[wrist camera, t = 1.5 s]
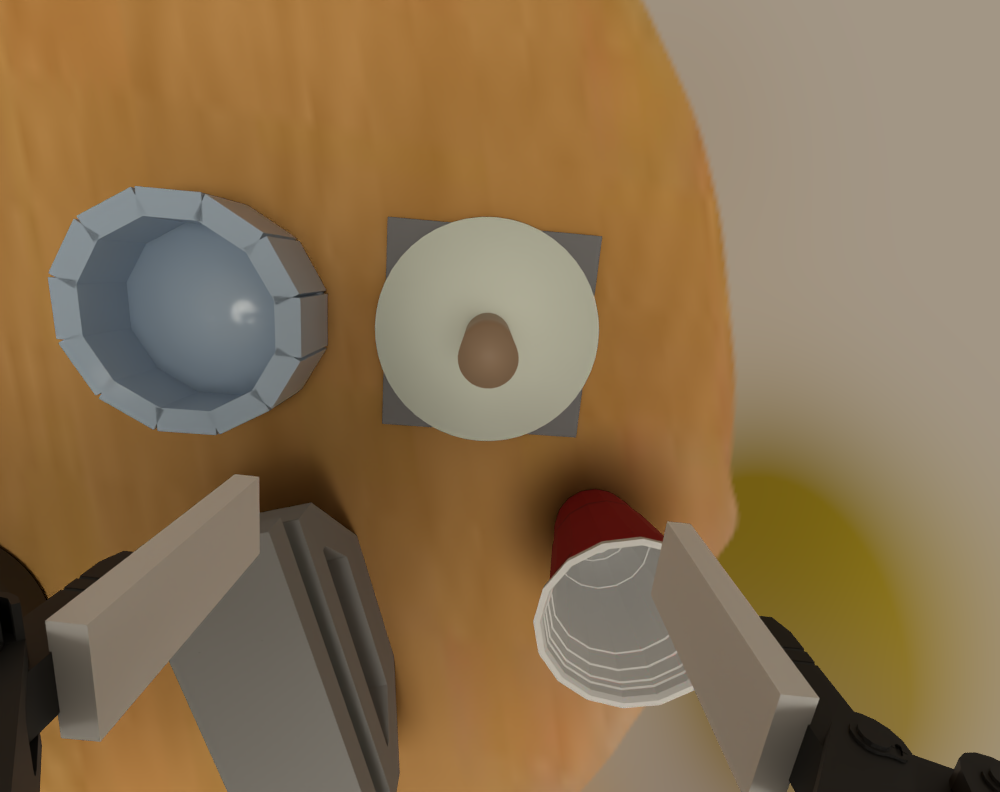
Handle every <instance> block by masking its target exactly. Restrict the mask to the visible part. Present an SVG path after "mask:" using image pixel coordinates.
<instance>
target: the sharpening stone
mask: <svg viewBox="0 0 1000 792" xmlns="http://www.w3.org/2000/svg"><path fill="white" fill-rule="evenodd" d="M259 517H260V554H259V555H258V556H257V557H256V558H255V560H254V561H253V562H252V563H251V564H250V566H249V567H248V568H247V569H246V570H245V571H244V573H243V574H242V575H241V576H240V577H239V579H238V580H237V581H236V582H235V583H234V584H233V586H232V587H231V588H230V589H229V590H228V592H227V593H226V594H225V595H224V596H223V597H222V599H221V600H220V601H219V602H218V603H217V605H216V606H215V607H214V608H213V609H212V610H211V612H210V613H209V614H208V615H207V616H206V618H205V619H204V620H203V621H202V622H201V623H200V625H199V626H198V627H197V628H196V629H195V631H194V632H193V633H192V634H191V635H190V636H189V638H188V639H187V640H186V641H185V642H184V643H183V645H182V646H181V647H180V648H179V649H178V651H177V652H176V653H175V654H174V655H173V656H172V658H171V659H170V660H169V662H170V664H171V667H172V669H173V671H174V673H175V676H176V678H177V680H178V682H179V685H180V687H181V689H182V691H183V693H184V696H185V698H186V700H187V702H188V705H189V707H190V709H191V711H192V714H193V716H194V718H195V720H196V722H197V725H198V727H199V729H200V731H201V734H202V736H203V738H204V740H205V743H206V745H207V747H208V749H209V751H210V754H211V756H212V758H213V760H214V763H215V765H216V767H217V769H218V772H219V774H220V776H221V778H222V780H223V783H224V785H225V787H226V789H227V792H396V791H397V785H398V779H399V774H400V772H399V751H398V731H397V710H396V689H395V669H394V655H393V652H392V649H391V646H390V642H389V639H388V636H387V633H386V629H385V626H384V623H383V619H382V616H381V613H380V610H379V606H378V603H377V600H376V597H375V593H374V590H373V587H372V584H371V580H370V577H369V574H368V570H367V567H366V564H365V561H364V557H363V554H362V551H361V548H360V544H359V541H358V538H357V536H356V535H355V534H354V533H352V532H351V531H350V530H348V529H347V528H345V527H344V526H343V525H341V524H340V523H339V522H337V521H336V520H334V519H333V518H332V517H330V516H329V515H328V514H326V513H325V512H324V511H322V510H321V509H319V508H318V507H317V506H315V505H314V504H313V503H307V504H302V505H297V506H291V507H286V508H281V509H276V510H271V511H266V512H261V513H259ZM143 545H144V544H143ZM139 548H140V547H139ZM139 548H138V549H139ZM134 552H135V551H134Z"/></svg>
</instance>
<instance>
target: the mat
mask: <svg viewBox="0 0 1000 792" xmlns="http://www.w3.org/2000/svg"><path fill="white" fill-rule="evenodd" d="M449 223H451V222H440V221H429V220H418V219H407V218H396V217H388V227H387V265H386V279H387V278H388V276H389V274H390V272H391V270H392V269H393V267H394V266H395V264H396V263H397V262H398V260H399V259H400V257H401V256H402V255H403V254H404V253H405V252H406V251H407V250H408V249H409V248H410V247H411V246H412V245H413V244H414V243H416V242H417V241H418V240H420V239H421V238H422V237H423V236H425V235H427V234H428V233H430V232H432V231H433V230H435V229H437V228H439V227H442V226H444V225H447V224H449ZM542 232H543V233H545V234H547V235H548V236H550V237H551V238H553V239H554V240H555V241H557V242H558V243H559V244H560V245H561V246H562V247H564V248H565V249H566V250H567V251H568V253H569V254H570V255H571V256H572V257H573V258H574V259H575V261H576V262H577V263H578V265H579V266H580V268H581V269H582V271H583V272H584V274H585V276H586V278H587V280H588V282H589V284H590V286H591V289H592V292H593V295H595V287H596V280H597V272H598V264H599V257H600V249H601V241H602V236H592V235H581V234H570V233H559V232H548V231H542ZM581 395H582V389H581V391H580V392H579V394H578V395H577V397H576V398H575V399H574V400H573V401H572V403H571V404H570V405H569V406H568V407H567V408H566V409H565V410H564V411H563V412H562V413H561V414H559V415H558V416H557V417H556V418H554V419H553V420H552V421H550V422H549V423H547V424H546V425H544V426H542V427H540V428H538V429H537V430H535V431H533V432H530V433H527V434H535V435H549V436H563V437H576V433H577V426H578V418H579V410H580V403H581ZM382 424H395V425H409V426H423V427H432V426H431V425H429V424H427V423H426V422H424V421H423V420H422V419H420V418H419V417H417V416H416V415H415V414H414V413H413V412H412V411H411V410H410V409H409V408H407V407H406V406H405V405H404V403H403V402H402V401H401V400H400V398H399V397H398V396H397V395H396V393H395V392H394V390H393V389H392V387H391V385H390V384H389V382H388V380H387V378H386V376H385V373H384V378H383V416H382Z"/></svg>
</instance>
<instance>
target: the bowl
mask: <svg viewBox="0 0 1000 792" xmlns="http://www.w3.org/2000/svg"><path fill="white" fill-rule="evenodd" d="M77 217H78V219H79V220H78V219H73V221H72V224H71V226H70V228H69V230H68V232H67V234H66V236H65V239H64V241H63V243H62V245H61V247H60V249H59V251H58V254H57V256H56V258H55V260H54V262H53V264H52V266H51V268H50V271H49V274H51V275H53V276H54V277H48V282H49V289H50V296H51V303H52V310H53V317H54V325H55V332H56V339H65V340H63V341H61V342H59V345H60V346H61V348H62V349H63V350H64V352H65V353H66V355H67V356H68V357H69V359H70V360H71V362H72V363H73V365H74V366H75V367H76V369H77V370H78V372H79V373H80V374H81V376H82V377H83V379H84V380H85V381H86V383H87V384H88V386H89V387H90V388H91V390H92V391H93V393H94V394H95V395H99V394H101V395H100V397H99V399H101V400H102V401H104V402H106V403H108V404H109V405H111V406H113V407H115V408H116V409H118V410H120V411H122V412H123V413H125V414H127V415H129V416H130V417H132V418H134V419H136V420H137V421H139V422H141V423H143V424H144V425H146V426H148V427H150V428H151V429H153V430H154V429H156V428H157V430H158V431H165V432H180V433H194V434H209V435H217V434H222V433H224V432H226V431H228V430H230V429H232V428H234V427H236V426H238V425H240V424H243V423H245V422H247V421H249V420H251V419H253V418H255V417H257V416H259V415H261V414H263V413H265V412H268V411H269V410H271V409H273V408H274V407H276V406H277V405H279V404H280V403H282V402H283V401H285V400H286V399H288V398H289V397H291V396H293V395H294V394H296V393H297V392H299V390H301V389H302V388H303V386H304V385H305V383H306V381H307V380H308V378H309V376H310V375H311V373H312V372H313V370H314V368H315V367H316V365H317V363H318V362H319V360H320V359H321V357H322V355H323V354H324V352H325V350H326V349H327V348H325V346H327V345H328V308H327V294H324V291H326V289H325V287H324V285H323V283H322V281H321V279H320V278H319V276H318V274H317V272H316V270H315V269H314V267H313V265H312V263H311V261H310V259H309V258H308V256H307V254H306V252H305V250H304V249H303V247H302V245H301V243H300V241H295V240H296V239H297V238H296V237H294V236H293V235H291V234H290V233H288V232H287V231H285V230H284V229H282V228H281V227H279V226H278V225H276V224H275V223H273V222H272V221H271V220H269V219H268V218H266V217H265V216H263V215H262V214H260V213H259V212H257V211H256V210H254V209H253V208H251V207H250V206H248V205H245V204H242V203H238V202H235V201H231V200H227V199H224V198H220V197H216V196H213V195H209V194H205V193H202V192H192V191H181V190H171V189H160V188H149V187H138V186H135V188H133V187H129V188H128V189H126V190H124V191H122V192H120V193H118V194H116V195H115V196H113V197H111V198H109V199H107V200H105V201H103V202H102V203H100V204H98V205H96V206H94V207H92V208H90V209H88V210H87V211H85V212H83V213H81V214H79V215H77Z"/></svg>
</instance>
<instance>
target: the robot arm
mask: <svg viewBox="0 0 1000 792" xmlns="http://www.w3.org/2000/svg"><path fill="white" fill-rule="evenodd" d="M259 554H260V517H259V477H256V476H247V475H238V474H234V475H233V476H232V477H231V478H229V479H228V480H227V481H225V482H224V483H223V484H221V485H220V486H219V487H218V488H216V489H215V490H214V491H212V492H211V493H210V494H209V495H207V496H206V497H205V498H203V499H202V500H201V501H199V502H198V503H197V504H196V505H194V506H193V507H192V508H190V509H189V510H188V511H187V512H185V513H184V514H183V515H181V516H180V517H179V518H177V519H176V520H175V521H174V522H172V523H171V524H170V525H168V526H167V527H166V528H165V529H163V530H162V531H161V532H159V533H158V534H157V535H155V536H154V537H153V538H152V539H150V540H149V541H148V542H146V543H145V544H144V545H142V546H141V547H140V548H139V549H137V550H136V551H135V552H128V551H122V552H120V553H118V554H116V555H114V556H111V557H109V558H107V559H105V560H102V561H100V562H98V563H97V564H96V565H94V566H93V567H92V568H90V569H89V570H87V571H86V572H85V573H83V574H82V575H81V576H80V578H79V579H77V578H76V579H75V580H74V581H72V582H71V583H70V584H68V585H67V586H65V588H64V590H60V591H59V592H57V593H56V594H55V595H53V596H52V597H50V598H49V599H48V600H46V599H45V597H44V595H43V592H42V591H41V589H40V587H39V586H38V584H37V583H36V581H35V580H34V578H33V577H32V576H31V575H30V573H29V572H28V571H27V570H26V569H25V568H24V567H23V566H22V565H21V564H20V563H19V562H18V561H17V560H16V559H14V558H13V557H12V556H11V555H9V554H8V553H7V552H5V551H4V550H3V549H1V548H0V792H40V774H41V752H42V744H41V737H40V732H41V731H42V730H43V729H44V728H45V727H46V726H47V725H48V724H49V723H50V722H51V721H52V720H53V719H54V718H55V717H56V716H57V715H58V718H59V725H60V733H61V738H67V739H77V740H88V741H99V742H100V741H101V740H102V739H103V738H104V737H105V736H106V734H107V733H108V732H109V731H110V730H111V729H112V727H113V726H114V725H115V724H116V723H117V721H118V720H119V719H120V718H121V717H122V716H123V714H124V713H125V712H126V711H127V710H128V708H129V707H130V706H131V705H132V704H133V703H134V701H135V700H136V699H137V698H138V697H139V695H140V694H141V693H142V692H143V691H144V690H145V688H146V687H147V686H148V685H149V684H150V682H151V681H152V680H153V679H154V678H155V677H156V675H157V674H158V673H159V672H160V671H161V669H162V668H163V667H164V666H165V665H166V664H167V662H168V661H169V660H170V659H171V658H172V656H173V655H174V654H175V653H176V652H177V651H178V649H179V648H180V647H181V646H182V645H183V643H184V642H185V641H186V640H187V639H188V638H189V636H190V635H191V634H192V633H193V632H194V631H195V629H196V628H197V627H198V626H199V625H200V623H201V622H202V621H203V620H204V619H205V618H206V616H207V615H208V614H209V613H210V612H211V610H212V609H213V608H214V607H215V606H216V605H217V603H218V602H219V601H220V600H221V599H222V597H223V596H224V595H225V594H226V593H227V592H228V590H229V589H230V588H231V587H232V586H233V584H234V583H235V582H236V581H237V580H238V579H239V577H240V576H241V575H242V574H243V573H244V571H245V570H246V569H247V568H248V567H249V566H250V564H251V563H252V562H253V561H254V560H255V558H256V557H257V556H258V555H259ZM651 596H652V599H653V601H654V603H655V605H656V607H657V610H658V612H659V614H660V616H661V618H662V620H663V623H664V625H665V627H666V629H667V631H668V634H669V636H670V638H671V640H672V642H673V644H674V647H675V649H676V651H677V653H678V655H679V658H680V660H681V662H682V664H683V666H684V669H685V671H686V673H687V675H688V677H689V679H690V682H691V684H692V686H693V688H694V690H695V693H696V695H697V697H698V699H699V701H700V703H701V706H702V708H703V710H704V712H705V714H706V717H707V718H708V721H709V723H710V725H711V727H712V730H713V732H714V734H715V736H716V738H717V740H718V743H719V745H720V747H721V749H722V751H723V754H724V756H725V758H726V760H727V762H728V764H729V767H730V769H731V771H732V773H733V776H734V777H735V780H736V782H737V784H738V786H739V788H740V791H741V792H787V789H788V787H789V784H790V783H791V785H792V787H793V789H794V791H795V792H1000V761H998V760H996V759H994V758H992V757H989V756H986V755H982V754H978V753H964V754H963V755H962V756H961V757H960V758H959V760H958V762H957V764H956V766H955V768H954V769H952V768H949V767H946V766H943V765H940V764H937V763H935V762H932V761H929V760H926V759H923V758H920V757H918V756H915V755H912V753H911V752H910V750H909V749H908V748H907V746H906V745H905V744H904V742H903V741H902V740H901V739H900V738H899V737H898V736H896V735H895V734H894V733H893V732H892V731H891V730H890V729H888V728H887V727H885V726H884V725H882V724H880V723H879V722H877V721H876V720H874V719H872V718H870V717H867V716H865V715H863V714H860V713H857V712H854V711H853V710H852V709H851V707H850V706H849V705H848V704H847V702H846V701H845V700H844V699H843V698H842V696H841V695H840V694H839V692H838V691H837V690H836V689H835V687H834V686H833V685H832V684H831V682H830V681H829V680H828V678H827V677H826V676H825V675H824V673H823V672H822V671H821V670H820V668H819V667H818V666H816V665H815V664H814V661H813V660H812V658H811V657H810V656H809V655H808V653H807V652H804V648H803V647H802V646H801V645H800V643H799V642H798V641H797V640H796V638H795V637H794V636H793V635H792V633H791V632H790V631H789V630H787V629H786V628H785V627H783V626H782V625H781V624H780V623H778V622H777V621H776V620H775V619H773V618H772V617H764V616H758V614H757V613H756V612H755V610H754V609H753V608H752V606H751V605H750V604H749V602H748V601H747V600H746V598H745V597H744V596H743V594H742V593H741V592H740V590H739V589H738V588H737V586H736V585H735V583H734V582H733V581H732V579H731V578H730V577H729V575H728V574H727V573H726V571H725V570H724V569H723V567H722V566H721V565H720V563H719V562H718V560H717V559H716V558H715V556H714V555H713V554H712V552H711V551H710V550H709V548H708V547H707V546H706V544H705V543H704V542H703V540H702V539H701V537H700V536H699V535H698V533H697V532H696V531H695V529H694V528H693V527H692V525H691V524H686V523H677V522H668V521H667V525H666V529H665V534H664V538H663V542H662V547H661V551H660V556H659V560H658V564H657V569H656V573H655V578H654V582H653V586H652V591H651Z"/></svg>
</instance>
